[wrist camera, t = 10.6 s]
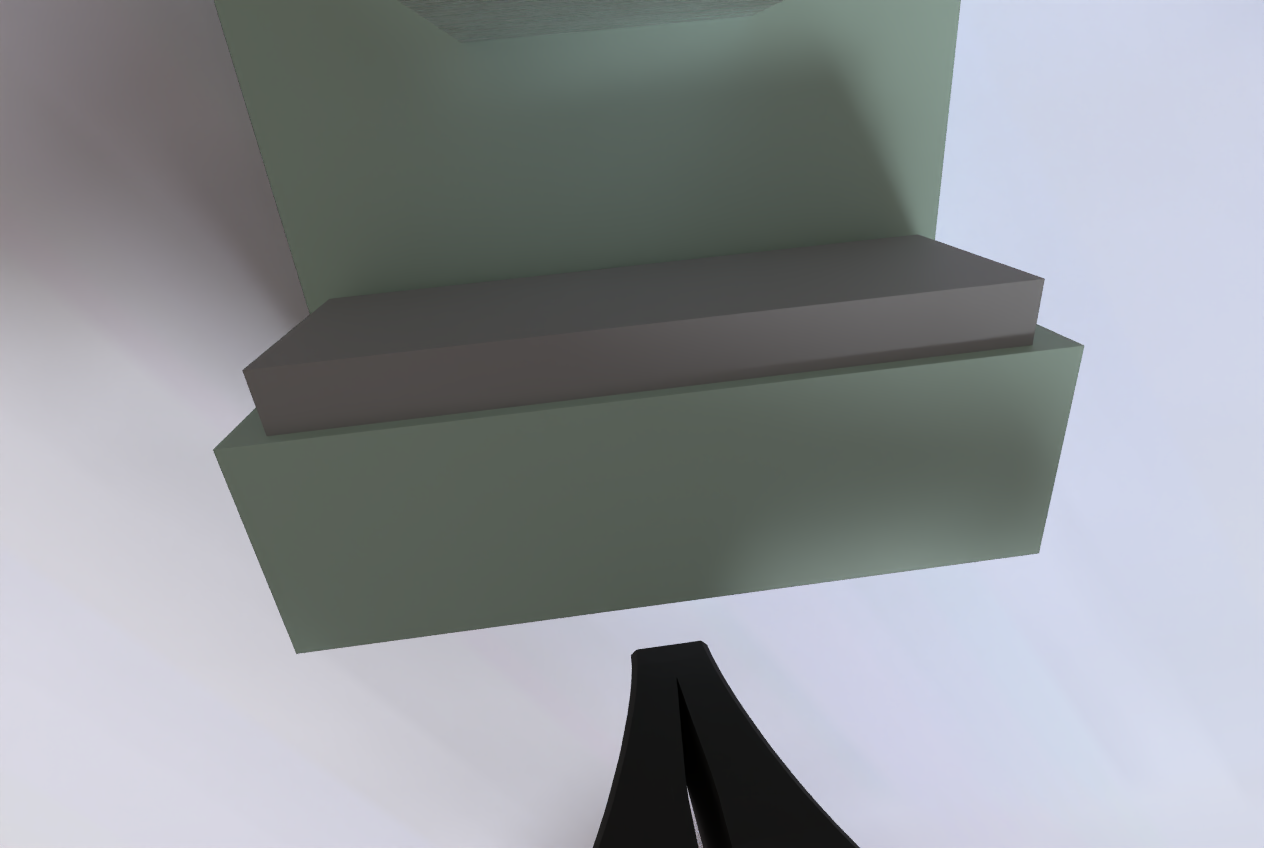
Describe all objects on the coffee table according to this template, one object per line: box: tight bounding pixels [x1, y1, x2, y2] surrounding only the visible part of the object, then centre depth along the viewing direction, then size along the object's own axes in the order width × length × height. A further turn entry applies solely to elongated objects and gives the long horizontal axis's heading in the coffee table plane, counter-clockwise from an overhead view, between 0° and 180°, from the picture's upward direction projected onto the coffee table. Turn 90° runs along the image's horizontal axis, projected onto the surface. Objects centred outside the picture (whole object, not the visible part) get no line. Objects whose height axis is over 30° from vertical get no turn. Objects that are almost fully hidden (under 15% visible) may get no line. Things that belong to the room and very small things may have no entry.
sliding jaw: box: [213, 234, 1084, 654], centre depth 10 cm, size 10×4×4 cm, turn 95°
